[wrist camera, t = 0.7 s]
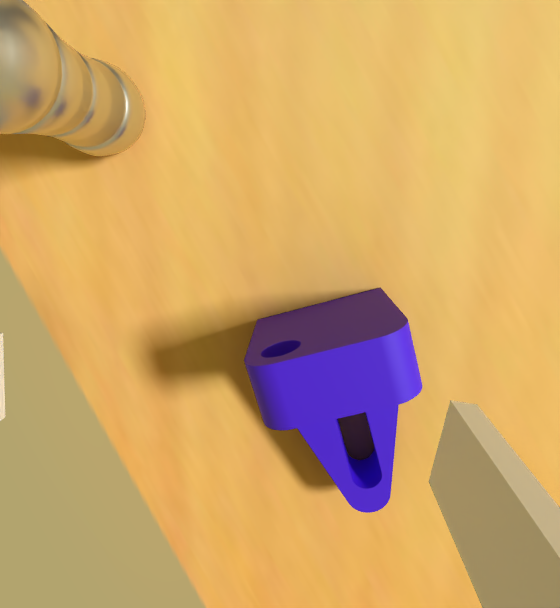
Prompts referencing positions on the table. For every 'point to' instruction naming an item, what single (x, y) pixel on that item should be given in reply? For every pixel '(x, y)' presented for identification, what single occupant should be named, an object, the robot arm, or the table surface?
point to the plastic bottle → (62, 88)
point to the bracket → (338, 383)
